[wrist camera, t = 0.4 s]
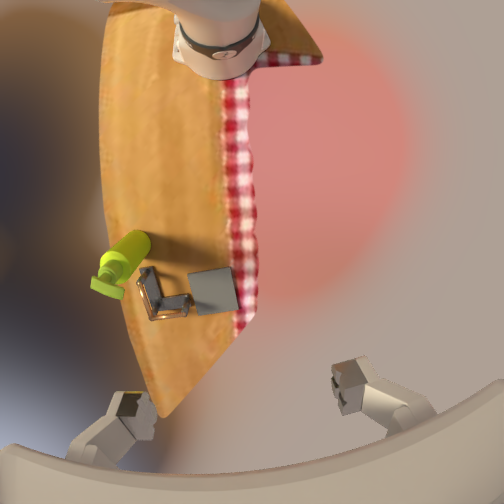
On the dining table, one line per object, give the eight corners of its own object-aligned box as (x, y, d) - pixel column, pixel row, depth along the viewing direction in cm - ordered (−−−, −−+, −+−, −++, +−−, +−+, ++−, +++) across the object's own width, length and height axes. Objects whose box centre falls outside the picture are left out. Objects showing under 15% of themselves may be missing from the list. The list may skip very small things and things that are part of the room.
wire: (140, 268, 57) (130, 280, 51) (180, 261, 57) (174, 273, 51) (153, 310, 60) (147, 326, 54) (192, 305, 60) (188, 321, 54)
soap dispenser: (151, 262, 56) (119, 312, 38) (122, 251, 55) (80, 295, 36) (159, 237, 55) (126, 279, 36) (128, 225, 54) (84, 261, 35)
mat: (187, 273, 58) (187, 274, 57) (230, 266, 58) (230, 267, 57) (198, 314, 61) (198, 315, 61) (238, 308, 61) (238, 309, 61)
